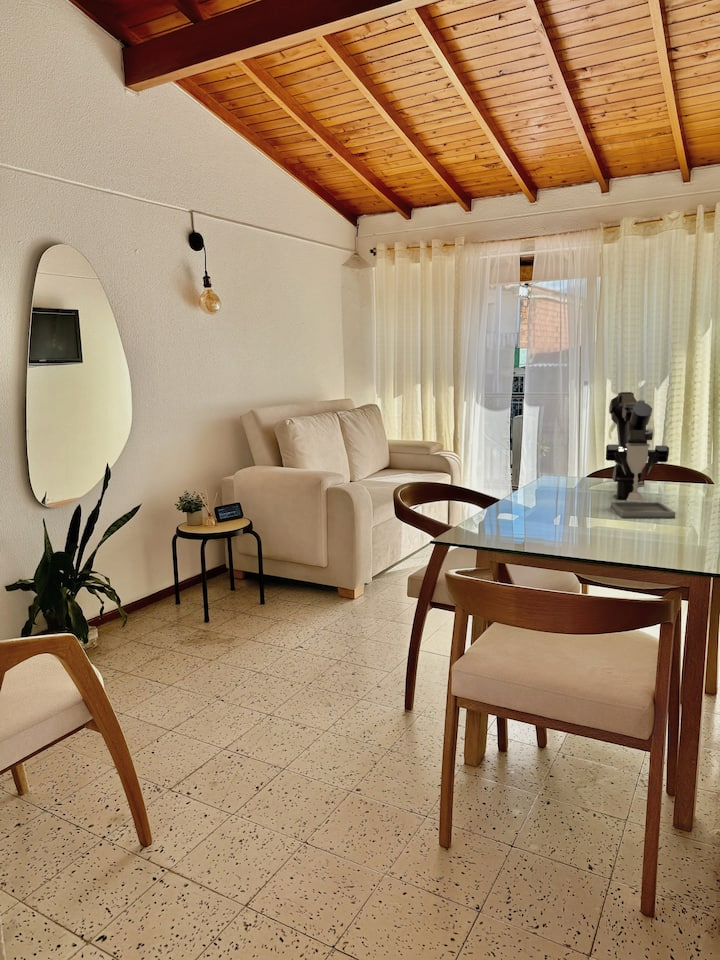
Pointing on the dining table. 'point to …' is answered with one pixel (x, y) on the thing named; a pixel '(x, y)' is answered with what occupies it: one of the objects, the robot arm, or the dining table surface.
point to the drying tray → (642, 510)
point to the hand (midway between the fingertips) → (636, 474)
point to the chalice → (636, 465)
